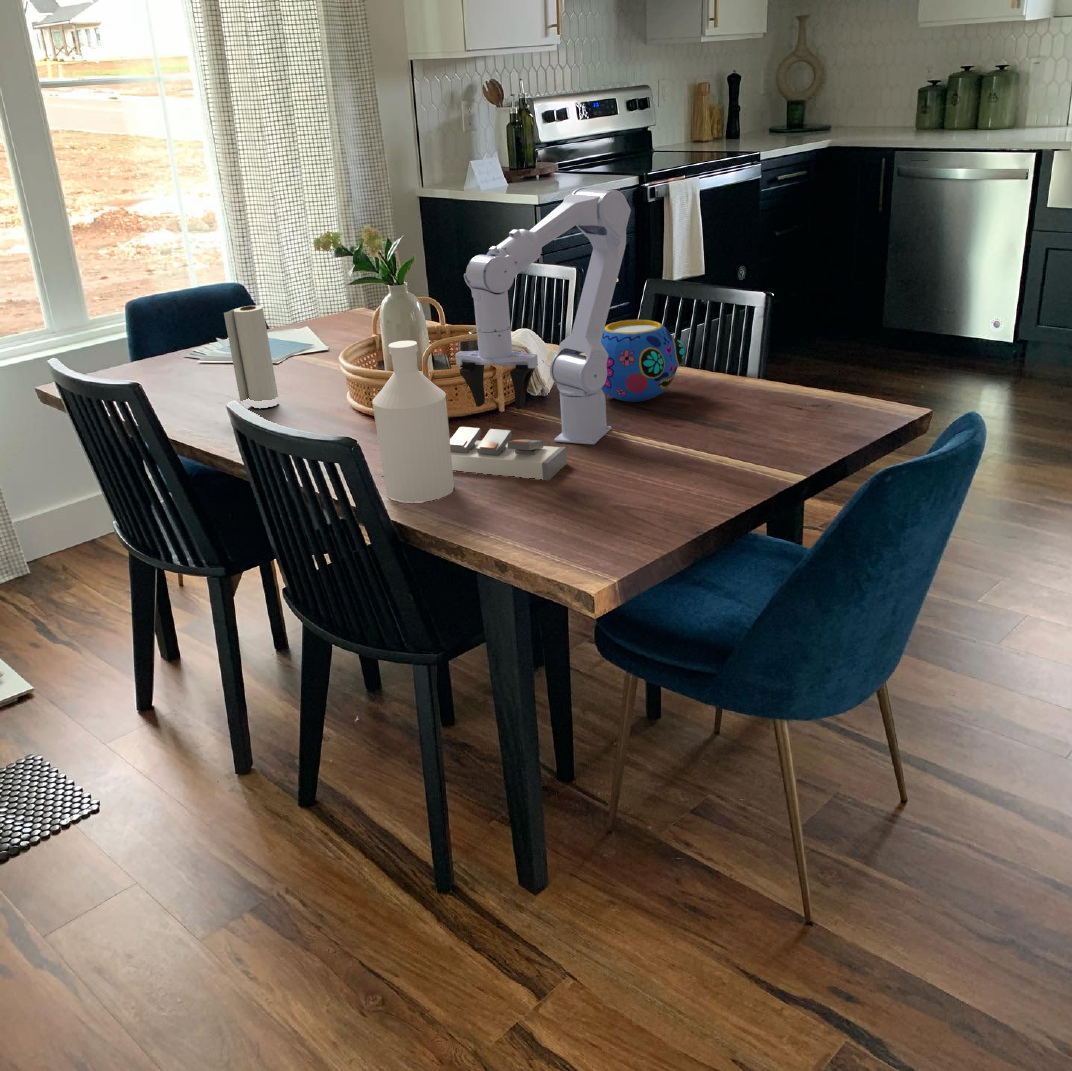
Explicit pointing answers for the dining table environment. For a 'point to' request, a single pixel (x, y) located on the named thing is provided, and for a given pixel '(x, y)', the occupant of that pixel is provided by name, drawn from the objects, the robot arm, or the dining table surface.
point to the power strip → (513, 462)
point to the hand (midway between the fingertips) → (500, 406)
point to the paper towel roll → (251, 353)
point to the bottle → (413, 430)
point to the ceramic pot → (640, 359)
